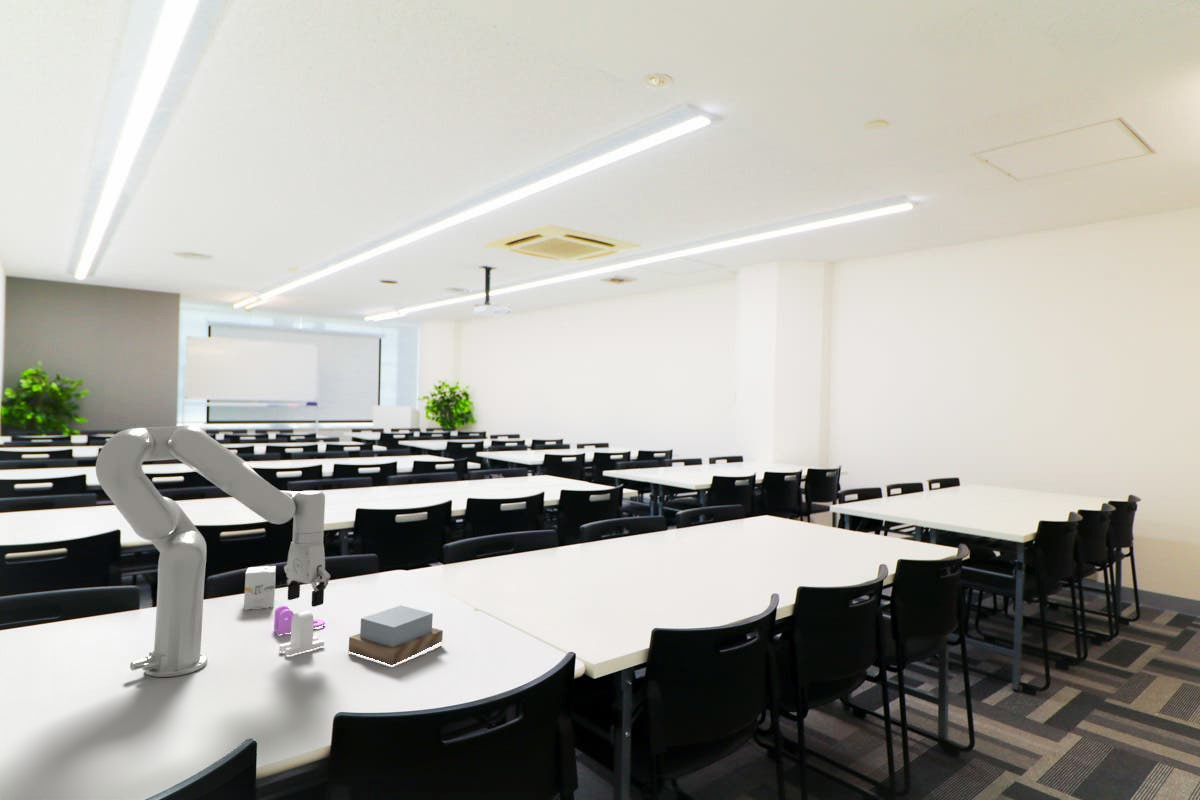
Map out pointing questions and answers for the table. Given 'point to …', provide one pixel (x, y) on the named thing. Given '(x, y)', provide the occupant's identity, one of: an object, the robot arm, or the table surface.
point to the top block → (396, 625)
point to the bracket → (288, 620)
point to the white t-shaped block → (301, 634)
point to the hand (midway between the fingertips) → (305, 601)
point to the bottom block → (393, 653)
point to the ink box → (259, 587)
